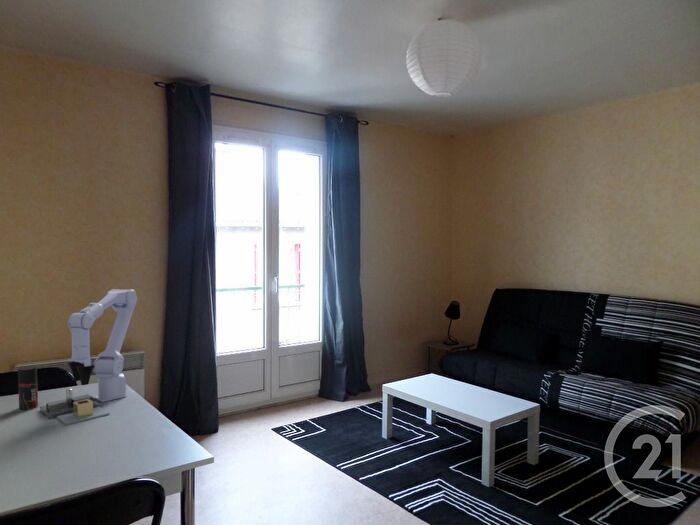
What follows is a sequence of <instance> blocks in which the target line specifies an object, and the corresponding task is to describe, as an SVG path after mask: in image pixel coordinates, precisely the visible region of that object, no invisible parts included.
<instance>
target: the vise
mask: <svg viewBox="0 0 700 525" xmlns="http://www.w3.org/2000/svg"><path fill="white" fill-rule="evenodd" d="M86 399H89V400H91V401H92V402H93V408H95V407H99V403H98V402H97V401H96V400H97V399H96V398H95V397H94V396H92V395H90V394H83V395H78V396H73V388H72V387H71V388H70V387H69V388H66V389H65V398H64V399H60V400H54V401H50V402H46V404H45V405H42V406H40V407H39V409H40V412H41V413H42V412H43V413H44V414H43V413H42V414H43V415H45V416H46V417H47V418H48V419H49V420H51V419H56V418H57V416H61V415H65V414H70V413H73V402H77V401H81V400H86Z"/></svg>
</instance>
